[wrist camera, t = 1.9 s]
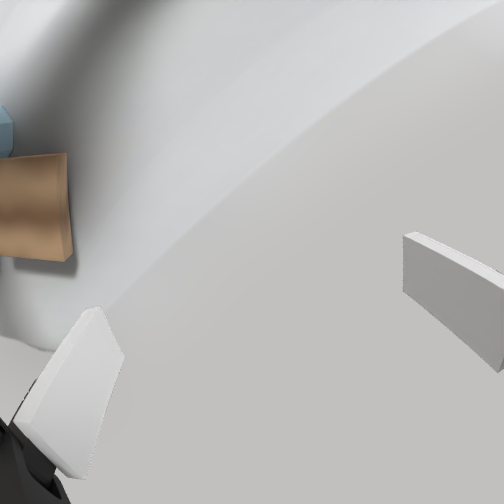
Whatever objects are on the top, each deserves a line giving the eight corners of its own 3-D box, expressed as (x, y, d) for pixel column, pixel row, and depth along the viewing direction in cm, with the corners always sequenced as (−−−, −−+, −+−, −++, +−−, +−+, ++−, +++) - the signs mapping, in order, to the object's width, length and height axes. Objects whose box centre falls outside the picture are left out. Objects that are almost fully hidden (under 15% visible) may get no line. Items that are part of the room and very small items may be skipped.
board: (-4, 159, 22) (-16, 163, 20) (67, 152, 24) (55, 155, 22) (6, 247, 27) (-5, 255, 25) (73, 252, 28) (64, 261, 26)
